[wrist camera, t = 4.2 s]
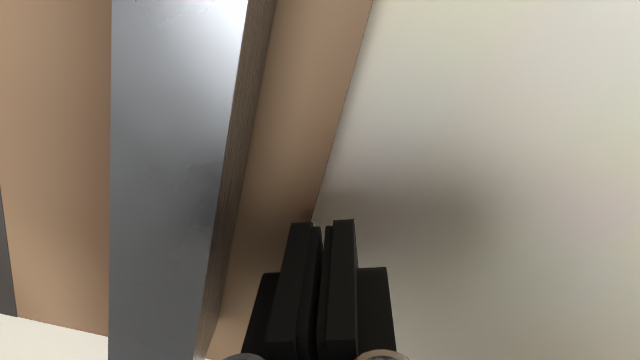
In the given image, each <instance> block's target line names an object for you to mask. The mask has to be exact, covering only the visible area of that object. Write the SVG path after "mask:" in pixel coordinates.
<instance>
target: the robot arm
mask: <svg viewBox="0 0 640 360" xmlns="http://www.w3.org/2000/svg"><path fill="white" fill-rule="evenodd" d="M223 360H409V359H408V358H407V357H405V356H403V355H402V354H400V353H398V352H397V351H396V343H395V335H394V326H393V318H392V310H391V302H390V293H389V285H388V277H387V269H386V267H376V268H358V259H357V248H356V236H355V225H354V219H347V220H334V221H333V226H326V229H325V240H324V250H323V243H322V235H321V229H320V227H313V223H312V222H298V223H291V226H290V230H289V234H288V239H287V243H286V248H285V252H284V257H283V261H282V266H281V270H280V272H272V273H264V274H263V275H262V278H261V281H260V285H259V288H258V292H257V295H256V299H255V302H254V306H253V310H252V313H251V317H250V320H249V324H248V327H247V331H246V335H245V338H244V342H243V345H242V349H241V353H239V354H235V355H232V356H228V357H227V358H225V359H223Z"/></svg>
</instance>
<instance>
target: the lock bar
mask: <svg viewBox="0 0 640 360" xmlns="http://www.w3.org/2000/svg"><path fill="white" fill-rule="evenodd" d="M276 1H277V0H112V32H111V129H110V225H109V322H108V360H204V359H205V357H206V354H207V351H208V348H209V346H210V343H211V340H212V337H213V335H214V332H215V329H216V326H217V323H218V318H219V312H220V307H221V301H222V296H223V291H224V285H225V280H226V274H227V269H228V263H229V258H230V252H231V247H232V241H233V236H234V230H235V225H236V220H237V214H238V209H239V203H240V198H241V192H242V187H243V181H244V176H245V170H246V165H247V159H248V154H249V148H250V143H251V138H252V132H253V127H254V121H255V116H256V110H257V105H258V99H259V94H260V88H261V83H262V77H263V72H264V67H265V61H266V56H267V50H268V45H269V39H270V34H271V28H272V23H273V17H274V12H275V6H276Z"/></svg>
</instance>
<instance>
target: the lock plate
mask: <svg viewBox="0 0 640 360" xmlns="http://www.w3.org/2000/svg"><path fill="white" fill-rule="evenodd" d="M372 3H373V0H277V1H276V6H275V12H274V17H273V23H272V28H271V34H270V39H269V45H268V50H267V56H266V61H265V67H264V72H263V77H262V83H261V88H260V94H259V99H258V105H257V110H256V116H255V121H254V127H253V132H252V138H251V143H250V148H249V154H248V159H247V165H246V170H245V176H244V181H243V187H242V192H241V198H240V203H239V209H238V214H237V220H236V225H235V230H234V236H233V241H232V247H231V252H230V258H229V263H228V269H227V274H226V280H225V285H224V291H223V296H222V301H221V307H220V312H219V318H218V323H217V326H216V329H215V332H214V335H213V337H212V340H211V343H210V346H209V348H208V351H207V354H206V357H205V358H207V359H211V360H223V359H225V358H227V357H228V356H232V355H235V354H239V353H241V349H242V345H243V342H244V338H245V335H246V331H247V327H248V324H249V320H250V317H251V313H252V310H253V306H254V302H255V299H256V295H257V292H258V288H259V285H260V281H261V278H262V275H263V274H264V273H272V272H280V270H281V266H282V261H283V257H284V252H285V248H286V243H287V239H288V234H289V230H290V226H291V223H298V222H310V221H311V218H312V214H313V211H314V207H315V204H316V200H317V197H318V193H319V190H320V186H321V183H322V179H323V176H324V172H325V169H326V165H327V162H328V158H329V155H330V151H331V148H332V144H333V140H334V137H335V133H336V130H337V126H338V123H339V119H340V116H341V112H342V109H343V105H344V102H345V98H346V95H347V91H348V88H349V84H350V81H351V77H352V74H353V70H354V67H355V63H356V60H357V56H358V53H359V49H360V46H361V42H362V38H363V35H364V31H365V28H366V24H367V21H368V17H369V14H370V10H371V7H372ZM111 32H112V0H0V314H5V315H10V316H14V317H21V318H26V319H30V320H35V321H39V322H44V323H48V324H53V325H57V326H62V327H66V328H71V329H75V330H80V331H84V332H89V333H93V334H98V335H103V336H107V337H108V322H109V225H110V129H111Z"/></svg>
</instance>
